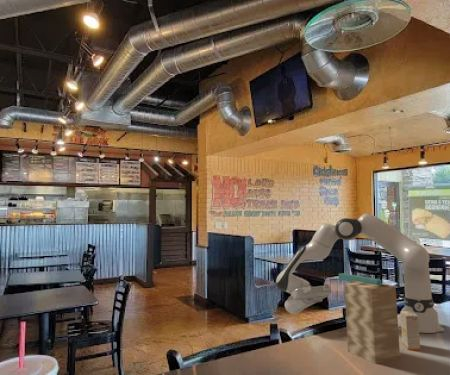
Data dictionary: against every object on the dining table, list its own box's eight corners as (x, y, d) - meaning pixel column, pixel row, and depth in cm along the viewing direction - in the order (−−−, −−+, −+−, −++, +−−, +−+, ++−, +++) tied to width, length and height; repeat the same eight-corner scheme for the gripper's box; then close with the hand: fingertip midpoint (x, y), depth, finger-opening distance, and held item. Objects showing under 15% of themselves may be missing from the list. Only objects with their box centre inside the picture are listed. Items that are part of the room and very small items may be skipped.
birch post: (348, 351, 141) (344, 281, 144) (371, 346, 146) (367, 278, 149) (375, 363, 129) (371, 286, 131) (400, 357, 133) (395, 283, 136)
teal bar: (338, 279, 154) (338, 273, 154) (343, 278, 155) (342, 273, 155) (376, 287, 135) (376, 280, 135) (381, 286, 136) (381, 279, 136)
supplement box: (421, 350, 140) (418, 316, 142) (407, 350, 141) (405, 315, 143) (414, 343, 148) (412, 310, 150) (402, 343, 149) (399, 310, 151)
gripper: (285, 292, 175) (298, 281, 165) (319, 289, 183) (334, 278, 173) (289, 305, 172) (303, 295, 162) (324, 301, 180) (339, 291, 170)
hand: (319, 286), depth 167 cm, fingers open, 8 cm apart
